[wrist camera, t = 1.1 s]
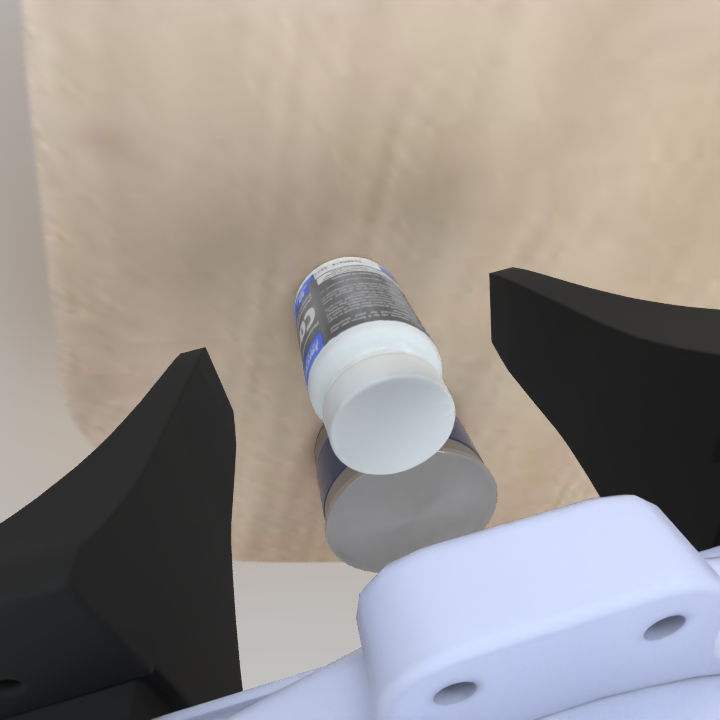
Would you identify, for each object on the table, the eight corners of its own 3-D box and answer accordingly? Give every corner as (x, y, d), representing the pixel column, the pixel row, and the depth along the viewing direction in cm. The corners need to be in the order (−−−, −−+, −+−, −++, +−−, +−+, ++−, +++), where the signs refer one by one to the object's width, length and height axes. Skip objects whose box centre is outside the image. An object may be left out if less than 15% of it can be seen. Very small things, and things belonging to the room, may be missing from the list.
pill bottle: (279, 270, 20) (297, 390, 13) (389, 241, 20) (463, 344, 14) (308, 362, 23) (335, 501, 16) (404, 336, 23) (473, 461, 16)
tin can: (377, 516, 30) (398, 592, 26) (280, 453, 26) (287, 532, 21) (485, 437, 28) (527, 505, 24) (400, 354, 24) (433, 420, 20)
